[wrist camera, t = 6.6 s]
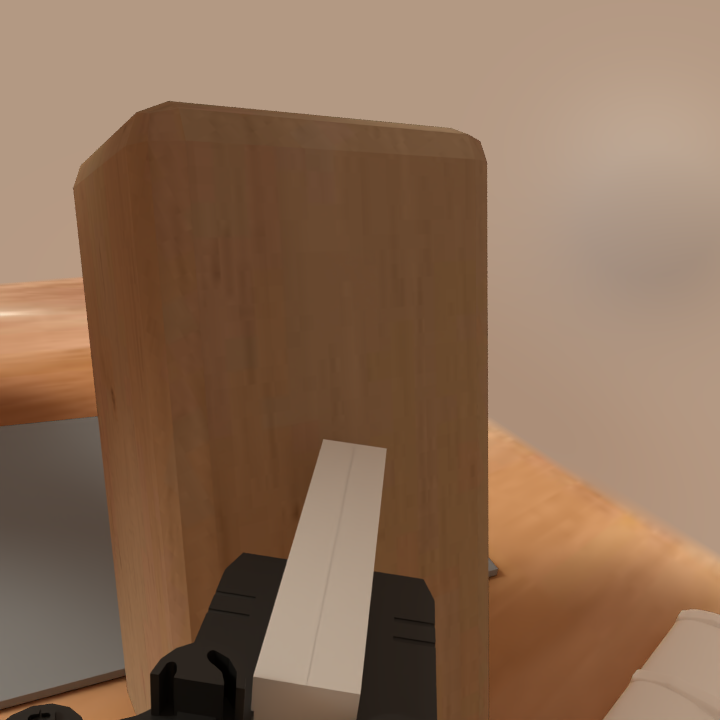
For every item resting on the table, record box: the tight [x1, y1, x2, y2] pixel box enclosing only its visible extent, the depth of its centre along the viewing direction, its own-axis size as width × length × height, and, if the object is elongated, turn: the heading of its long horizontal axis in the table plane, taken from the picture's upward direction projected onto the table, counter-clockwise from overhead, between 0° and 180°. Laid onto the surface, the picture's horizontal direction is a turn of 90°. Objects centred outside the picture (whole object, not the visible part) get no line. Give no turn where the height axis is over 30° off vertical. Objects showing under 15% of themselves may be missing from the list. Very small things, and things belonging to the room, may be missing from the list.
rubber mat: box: [0, 416, 498, 709], centre depth 36 cm, size 21×24×1 cm
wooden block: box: [73, 101, 489, 720], centre depth 21 cm, size 10×10×20 cm
